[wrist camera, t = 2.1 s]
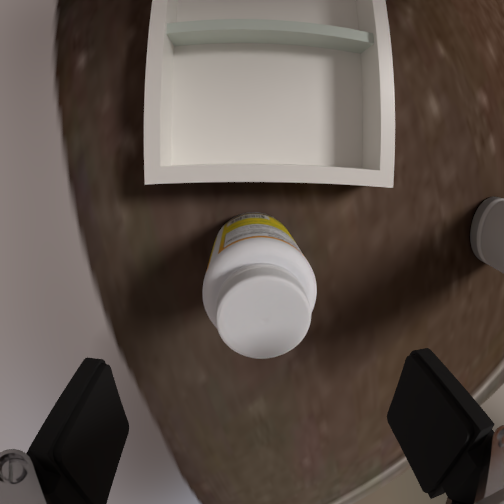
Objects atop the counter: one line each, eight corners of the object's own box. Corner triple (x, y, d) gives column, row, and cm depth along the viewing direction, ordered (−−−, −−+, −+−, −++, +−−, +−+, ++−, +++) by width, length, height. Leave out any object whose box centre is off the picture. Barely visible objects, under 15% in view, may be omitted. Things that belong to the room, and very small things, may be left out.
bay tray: (173, -50, 14) (165, -73, 11) (358, -41, 15) (372, -61, 12) (159, 180, 20) (144, 184, 17) (371, 182, 21) (393, 187, 18)
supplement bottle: (255, 299, 23) (265, 392, 14) (198, 251, 22) (167, 324, 12) (308, 246, 22) (356, 314, 12) (251, 193, 21) (260, 225, 11)
